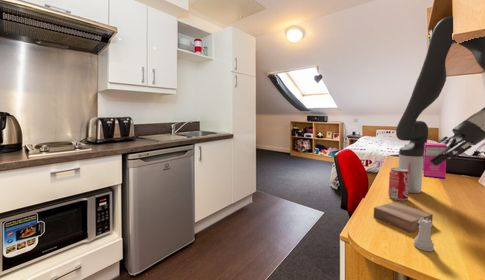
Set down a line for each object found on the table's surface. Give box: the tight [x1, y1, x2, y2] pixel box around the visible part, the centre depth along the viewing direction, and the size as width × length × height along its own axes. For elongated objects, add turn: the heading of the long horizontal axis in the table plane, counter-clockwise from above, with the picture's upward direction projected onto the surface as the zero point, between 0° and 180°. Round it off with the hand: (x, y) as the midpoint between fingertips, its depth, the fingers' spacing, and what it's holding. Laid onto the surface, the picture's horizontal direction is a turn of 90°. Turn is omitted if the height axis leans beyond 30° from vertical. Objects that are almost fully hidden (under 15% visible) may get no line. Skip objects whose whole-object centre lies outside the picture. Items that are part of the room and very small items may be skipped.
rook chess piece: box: [413, 218, 435, 253], centre depth 61 cm, size 4×4×8 cm
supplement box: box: [422, 142, 447, 180], centre depth 76 cm, size 6×6×12 cm
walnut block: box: [373, 201, 433, 234], centre depth 76 cm, size 12×12×4 cm
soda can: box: [388, 167, 410, 202], centre depth 96 cm, size 7×7×13 cm
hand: (428, 161), depth 77 cm, fingers closed on supplement box, 7 cm apart
